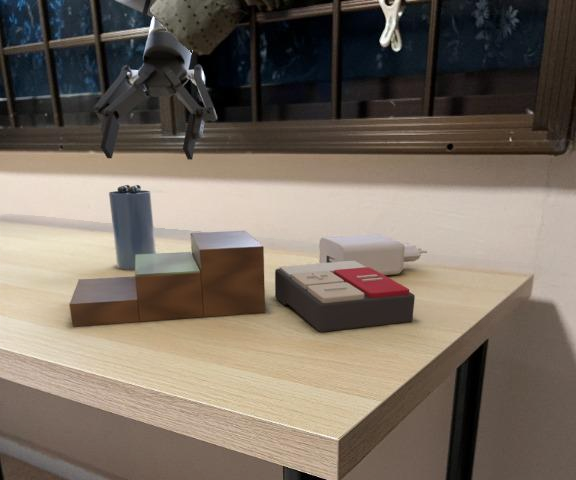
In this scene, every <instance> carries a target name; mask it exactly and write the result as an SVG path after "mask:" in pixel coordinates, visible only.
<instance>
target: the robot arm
mask: <svg viewBox="0 0 576 480" xmlns="http://www.w3.org/2000/svg"><path fill="white" fill-rule="evenodd" d="M114 1H115V2H117V3H119V4H122V5H124V6H126V7H128V8H131V9H132V10H135V11H138V12H140V13H142V14H144V15H146V16H148V17H151V20H150V26H149V31H148V34H147V39H146V42H145V46H144V52H143V56H142V65H141V67H139V69H131V68H130V66H129V65H128V64H126V65H123V66H122V68H121V71H120V73H119V75H118V77H117V78H116V79H115V80H114V82H113V83H112V84H111V86H109V88H108V89H107V90H106V91H105V93H103V95H102V96H101V98H99V100H98V101H97V102H96V103H95V105H94V106H93V110H94V112H95V114H96V115H97V117H98V118H99V120H100V121H101V125H100V133H101V135H102V139H101V143H100V149H101V150H102V152H103V153H104V155H105V157H106V158H107V159H113V156H114V151H115V146H116V143H117V139H118V134H119V129H120V127H121V126H120V123H119V121H120V120H121V119H122V118H123V117H124V116H126V114H128V113H129V112H130V111H132V110H133V109H134V108H135V107H137V106H138V105H139V104H140V103H141V102H142V101H143V102H146V101H148V99H150V98H151V97H152V98H159V97H165V98H171V96H173V95H175V97H177V99H178V100H179V101H180V102H182V104H183V106H184V107H185V109H187V110H188V111H189V114H188V119H187V124H186V129H185V134H184V139H183V145H182V149H183V152H184V155H185V158H186V159H187V160H193V157H194V152H195V147H196V143H197V142H196V141H197V140H201V139H202V137H203V133H204V128H205V124H206V123H207V122H209V121H211V122H212V123H213V122H216V121H217V120H218V115H217V113H216V110H215V107H214V104H213V101H212V99H211V96H210V94H209V91H208V89H207V87H206V75H205V73H204V70H203V67H202V65H201V64H196V65H194V68H193V69H190V64H191V59H192V53H193V52H192V53H191V52H190V50H188V49H187V48H186V47H185V46H183V45H182V44H181V43H180V42H179V41H178V40H176V38H175V37H174V36H172V34H171V33H169V32H166V29H165V27H164V26H163V25H162V24H161V23H160V22H159V21H158V20H156V19H155V17H154V16H153V15H152V14H151V13H150V7H151V6H152V4H153V3H154V2H155V0H114ZM189 80H190V81H191V83H192V84H194V86H196V88H197V90H198V93H199V95H200V98H201V101H202V103H203V106H204V108H202V107H201V105H200V104H198V103H197V101H196V100H195V98H193V96H192V95H191V94H190V92H189V91H188V90H187V89H186V88H185V85H186V84H187V83H188V81H189ZM143 87H144V88H143ZM144 89H145V90H144Z"/></svg>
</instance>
